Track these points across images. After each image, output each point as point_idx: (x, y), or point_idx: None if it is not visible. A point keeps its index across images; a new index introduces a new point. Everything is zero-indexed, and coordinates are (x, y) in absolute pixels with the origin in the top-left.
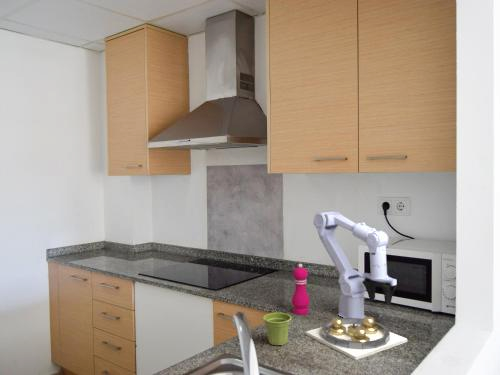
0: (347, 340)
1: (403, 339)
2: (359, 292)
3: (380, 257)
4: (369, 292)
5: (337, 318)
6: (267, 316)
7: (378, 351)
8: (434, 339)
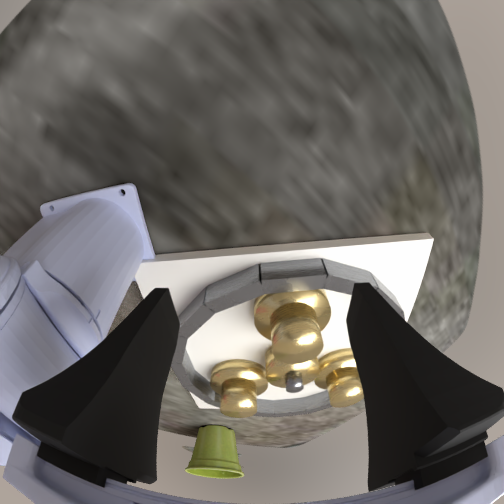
0: None
1: (426, 255)
2: (55, 329)
3: None
4: (164, 383)
5: (230, 408)
6: (192, 470)
7: None
8: (474, 131)
